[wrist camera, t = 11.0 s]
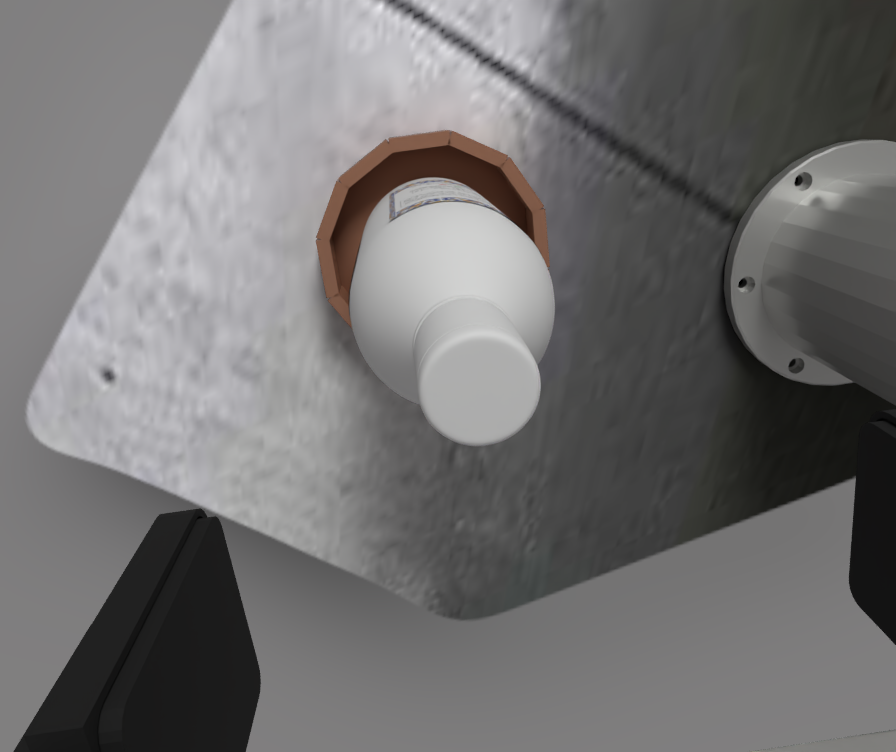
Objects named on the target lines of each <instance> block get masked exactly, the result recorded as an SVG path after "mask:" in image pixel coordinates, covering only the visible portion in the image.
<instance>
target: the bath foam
mask: <svg viewBox="0 0 896 752" xmlns="http://www.w3.org/2000/svg"><path fill="white" fill-rule="evenodd" d="M360 242H361V244H360V245H359V249H358V253H357V257H356V262H355V266H354V270H353V274H352V279H351V284H350V290H349V315H350V321H351V326H352V330H353V333H354V337H355V339H356V342H357V345H358V347H359V349H360V351H361V353H362V355H363V357H364V359H365V361H366V362H367V364H368V365H369V367H370V368H371V369H372V371H373V372H374V373H375V374H376V376H377V377H378V378H379V379H380V380H381V381H382V382H383V383H384V384H385V385H387V386H388V387H389V388H390V389H391V390H393V391H394V392H395V393H397V394H398V395H400V396H401V397H403V398H405V399H407V400H409V401H411V402H413V403H416V404H418V405H420V407H421V409H422V412H423V414H424V416H425V417H426V419H427V421H428V422H429V423H430V425H431V426H432V427H433V428H434V429H435V430H436V431H437V432H439V433H440V434H441V435H443V436H444V437H446V438H447V439H449V440H451V441H454V442H456V443H459V444H463V445H468V446H487V445H492V444H496V443H499V442H501V441H504V440H506V439H508V438H510V437H511V436H513V435H514V434H516V433H517V432H518V431H520V430H521V429H522V428H523V427H524V426H525V425H526V423H527V422H528V421H529V420H530V418H531V417H532V415H533V413H534V411H535V409H536V407H537V404H538V401H539V397H540V390H541V381H540V374H539V370H538V364H539V362H540V361H541V359H542V357H543V355H544V353H545V351H546V349H547V346H548V344H549V341H550V338H551V334H552V329H553V324H554V315H555V301H554V291H553V285H552V281H551V277H550V274H549V271H548V268H547V266H546V263H545V261H544V258H543V256H542V254H541V252H540V251H539V249H538V247H537V246H536V245H535V243H534V242H533V241H532V239H531V238H530V237H529V236H528V235H527V234H526V233H525V232H524V231H523V230H522V229H521V228H520V227H519V226H518V225H517V224H516V223H514V222H513V221H512V220H511V219H510V218H508V217H507V216H506V215H505V214H503V213H502V212H501V211H500V210H499V209H497V208H496V207H495V206H494V205H492V204H491V203H490V202H489V201H487V200H486V199H485V198H484V197H483V196H481V195H480V194H479V193H477V192H476V191H474V190H473V189H471V188H470V187H468V186H466V185H464V184H462V183H460V182H457V181H454V180H451V179H446V178H438V177H428V178H420V179H416V180H412V181H409V182H406V183H404V184H402V185H400V186H398V187H396V188H395V189H393V190H392V191H390V192H389V193H388V194H387V195H386V196H384V197H383V198H382V199H381V200H380V202H379V203H378V204H377V205H376V206H375V208H374V209H373V211H372V212H371V214H370V216H369V218H368V220H367V222H366V225H365V228H364V231H363V235H362V239H361V241H360Z"/></svg>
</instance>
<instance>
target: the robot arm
mask: <svg viewBox="0 0 896 752" xmlns="http://www.w3.org/2000/svg"><path fill="white" fill-rule="evenodd" d="M797 176H798V182H797V183H796V184H795V179H796V177H797ZM742 278H743V283H742V284H741V285H740V286H738V285H739V282H740V281H741V279H742ZM724 294H725V301H726V308H727V312H728V315H729V318H730V321H731V323H732V326H733V329H734V331H735V333H736V334H737V336H738V337H739V339H740V340H741V342H742V343H743V345H744V347H745V348H746V349H747V350H748V351H749V352H750V353H751V354H752V355H753V356H754V357H755V358H756V359H757V360H758V361H760V362H761V363H763V364H764V365H766V366H767V367H769V368H770V369H771V370H773V371H774V372H776V373H778V374H780V375H782V376H784V377H786V378H788V379H791V380H794V381H798V382H802V383H806V384H810V385H827V386H835V385H842V384H849V383H857V384H858V385H860V386H862V387H864V388H866V389H867V390H869V391H871V392H873V393H874V394H876V395H878V396H880V397H881V398H883V399H885V400H887V401H888V402H890V403H892V404H894V405H896V142H891V141H886V140H862V139H861V140H854V141H847V142H840V143H836V144H833V145H830V146H827V147H824V148H821V149H818V150H815V151H813V152H811V153H809V154H807V155H806V156H804V157H802V158H800V159H798V160H797V161H795V162H793V163H791V164H790V165H789V166H788V167H786V168H785V169H784V170H783V171H781V172H780V173H779V174H778V175H776V176H775V177H774V178H773V179H771V180H770V182H769V183H768V184H767V185H766V186H765V187H764V188H763V189H762V190H761V192H760V193H759V194H758V195H757V196H756V197H755V198H754V200H753V201H752V203H751V204H750V206H749V207H748V209H747V210H746V212H745V214H744V215H743V217H742V218H741V220H740V222H739V224H738V227H737V229H736V231H735V234H734V236H733V238H732V241H731V243H730V247H729V251H728V256H727V260H726V264H725V275H724ZM849 584H850V590H851V593H852V595H853V598H854V599H855V601H856V603H857V604H858V605H859V607H860V608H861V609H862V610H863V611H864V612H865V613H866V614H867V615H868V616H869V617H870V618H871V619H872V620H873V621H874V623H875V624H876V625H877V626H878V627H879V628H880V629H881V630H882V631H883V632H884V633H885V634H886V635H887V636H888V637H889V638H890V639H891V641H892V642H893V643H894V644H895V645H896V409H892V410H885V411H878V412H876V413H874V414H873V415H872V417H871V418H870V420H869V423H865V424H864V425H863V426H862V427H861V429H860V433H859V443H858V457H857V471H856V486H855V500H854V515H853V528H852V542H851V558H850V571H849ZM260 684H261V682H260V670H259V665H258V661H257V657H256V653H255V649H254V646H253V642H252V638H251V635H250V631H249V627H248V623H247V620H246V616H245V612H244V608H243V604H242V601H241V597H240V593H239V589H238V586H237V582H236V578H235V575H234V570H233V567H232V563H231V559H230V555H229V552H228V548H227V544H226V540H225V537H224V533H223V529H222V526H221V523H220V521H219V519H218V518H217V517H216V516H215V517H208V518H207V515H206V514H205V512H204V511H203V510H202V509H194V510H187V511H180V512H173V513H166V514H160V515H159V516H158V517H157V518H156V520H155V521H154V523H153V525H152V526H151V528H150V530H149V531H148V533H147V534H146V536H145V538H144V540H143V541H142V543H141V544H140V546H139V548H138V549H137V551H136V553H135V554H134V556H133V558H132V559H131V561H130V562H129V564H128V566H127V567H126V569H125V571H124V572H123V574H122V576H121V577H120V579H119V580H118V582H117V584H116V585H115V587H114V589H113V590H112V592H111V594H110V595H109V597H108V599H107V600H106V602H105V603H104V605H103V607H102V608H101V610H100V612H99V613H98V615H97V616H96V618H95V620H94V621H93V623H92V624H91V626H90V627H89V629H88V631H87V632H86V634H85V635H84V637H83V639H82V640H81V642H80V644H79V645H78V647H77V648H76V650H75V652H74V653H73V655H72V657H71V658H70V660H69V662H68V663H67V665H66V667H65V668H64V670H63V671H62V673H61V675H60V676H59V678H58V680H57V681H56V683H55V685H54V686H53V688H52V689H51V691H50V693H49V694H48V696H47V698H46V699H45V701H44V702H43V704H42V706H41V707H40V709H39V711H38V712H37V714H36V716H35V717H34V719H33V721H32V722H31V724H30V725H29V727H28V729H27V730H26V732H25V734H24V735H23V737H22V739H21V741H20V742H19V743H18V745H17V747H16V749H15V750H14V752H246V748H247V744H248V740H249V736H250V732H251V727H252V723H253V719H254V715H255V711H256V707H257V703H258V699H259V694H260ZM751 752H896V730H889V731H883V732H876V733H870V734H863V735H857V736H851V737H844V738H837V739H830V740H824V741H817V742H811V743H805V744H798V745H791V746H784V747H778V748H771V749H765V750H758V751H751Z"/></svg>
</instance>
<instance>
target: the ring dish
mask: <svg viewBox="0 0 896 752" xmlns="http://www.w3.org/2000/svg"><path fill="white" fill-rule="evenodd" d="M507 156H508V155H505V154H503V153H501V152H499V151H496V150H494V149H492V148H490V147H487V146H485V145H483V144H481V143H478V142H476V141H474V140H472V139H469V138H467V137H465V136H463V135H460V134H458V133H456V132H454V131H450V130H442V131H435V132H427V133H418V134H412V135H405V136H398V137H390V138H389V142H388V141H387V139H385V140H384V141H383V142H382V143H380V144H379V145H378V146H377V147H375V148H374V149H373V150H372V151H371V152H369V153H368V154H367V155H366V156H364V157H363V158H362V159H361V160H359V161H358V162H357V163H356V164H355V165H353V166H352V167H351V168H350V169H348V170H347V171H346V172H345V173H344V174H342V175H341V176H340V177H339V178H338V180H337V181H336V184H335V187H334V189H333V192H332V195H331V198H330V200H329V203H328V206H327V209H326V212H325V214H324V217H323V220H322V223H321V225H320V228H319V231H318V234H317V236H316V238H317V240H316V244H317V249H318V255H319V260H320V266H321V271H322V276H323V282H324V287H325V292H326V298H329V299H328V301H329V303H330V304H331V305H332V306H333V307H334V308H335V310H336V311H337V312H338V313H339V314H340V316H341V317H342V318H343V319H344V320H345V321H346V323H347V324H348V325H349V326H350V327H351V328H352V326H351V321H350V315H349V290H350V284H351V279H352V274H353V270H354V266H355V262H356V257H357V253H358V249H359V245H360V244H361V242H360V241H361V239H362V235H363V231H364V228H365V225H366V222H367V220H368V218H369V216H370V214H371V212H372V211H373V209H374V208H375V206H376V205H377V204H378V203H379V202H380V200H381V199H382V198H383V197H384V196H386V195H387V194H388V193H389V192H390V191H392V190H393V189H395V188H396V187H398V186H400V185H402V184H404V183H406V182H409V181H412V180H416V179H420V178H428V177H438V178H446V179H451V180H454V181H457V182H460V183H462V184H464V185H466V186H468V187H470V188H471V189H473V190H474V191H476V192H477V193H479V194H480V195H481V196H483V197H484V198H485V199H486V200H487V201H489V202H490V203H491V204H492V205H494V206H495V207H496V208H497V209H499V210H500V211H501V212H502V213H503V214H505V215H506V216H507V217H508V218H510V219H511V220H512V221H513V222H514V223H516V224H517V225H518V226H519V227H520V228H521V229H522V230H523V231H524V232H525V233H526V234H527V235H528V236H529V237H530V238H531V239H532V241H533V242H534V243H535V245H536V246H537V247H538V249H539V251H540V252H541V254H542V256H543V258H544V261H545V263H546V266H547V267H550V264H549V252H548V239H547V227H546V214H545V209H544V208H543V207H544V205H543V204H542V202H541V201H540V200H539V198H538V197H537V195H536V194H535V192H534V191H533V190H532V188H531V187H530V185H529V184H528V182H527V181H526V179H525V178H524V177H523V175H522V174H521V172H520V171H519V169H518V168H517V167H516V165H515V164H514V162H513V161H512V159H511V158H510V157H507ZM548 271H549V269H548Z"/></svg>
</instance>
